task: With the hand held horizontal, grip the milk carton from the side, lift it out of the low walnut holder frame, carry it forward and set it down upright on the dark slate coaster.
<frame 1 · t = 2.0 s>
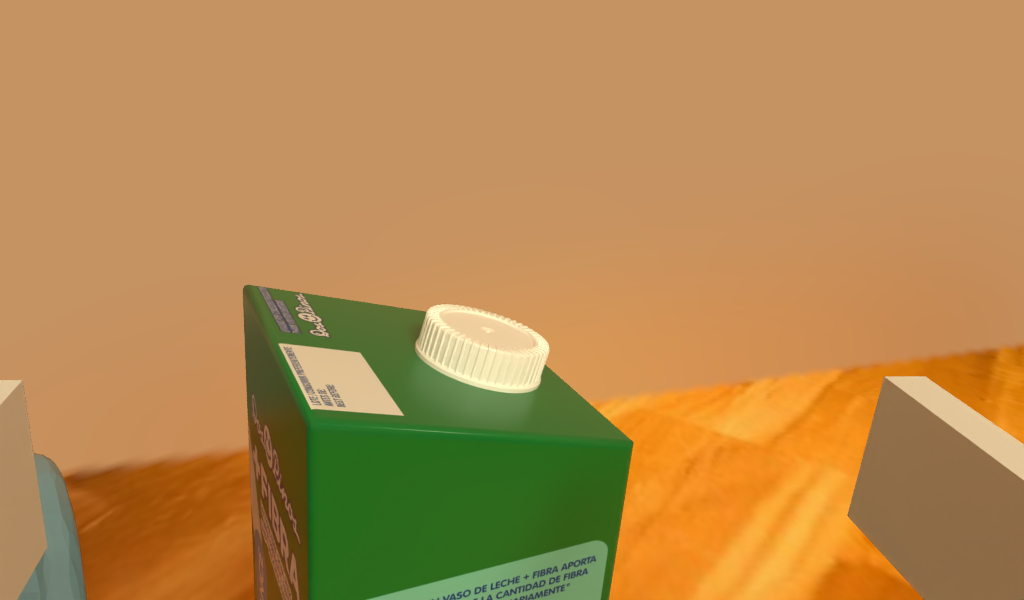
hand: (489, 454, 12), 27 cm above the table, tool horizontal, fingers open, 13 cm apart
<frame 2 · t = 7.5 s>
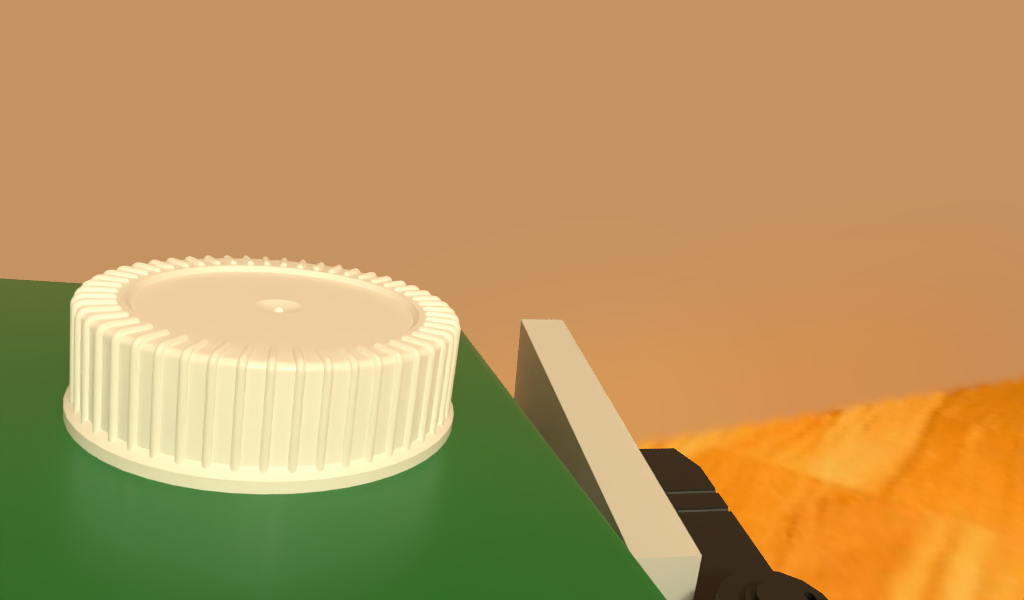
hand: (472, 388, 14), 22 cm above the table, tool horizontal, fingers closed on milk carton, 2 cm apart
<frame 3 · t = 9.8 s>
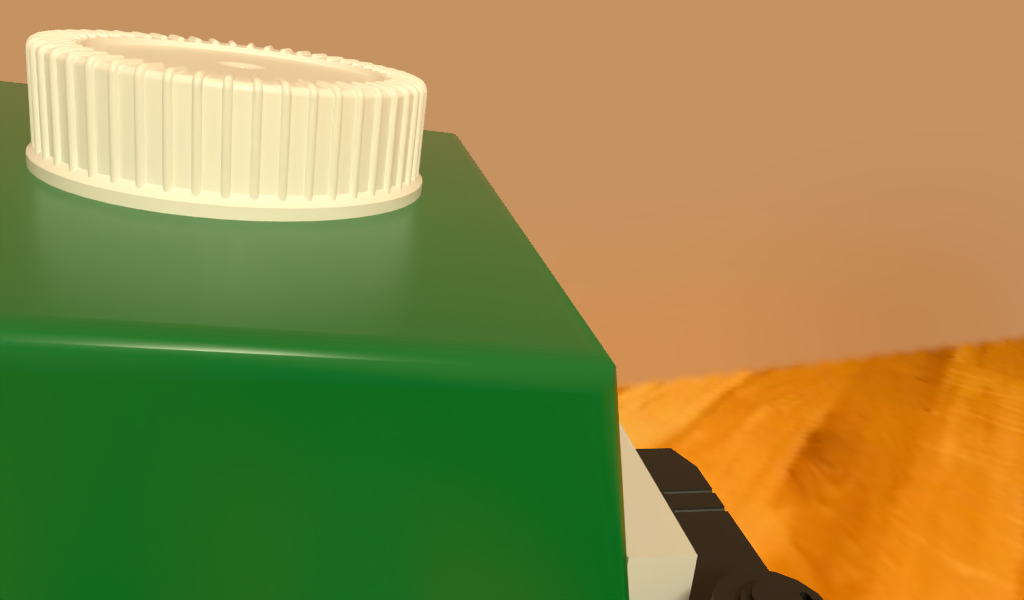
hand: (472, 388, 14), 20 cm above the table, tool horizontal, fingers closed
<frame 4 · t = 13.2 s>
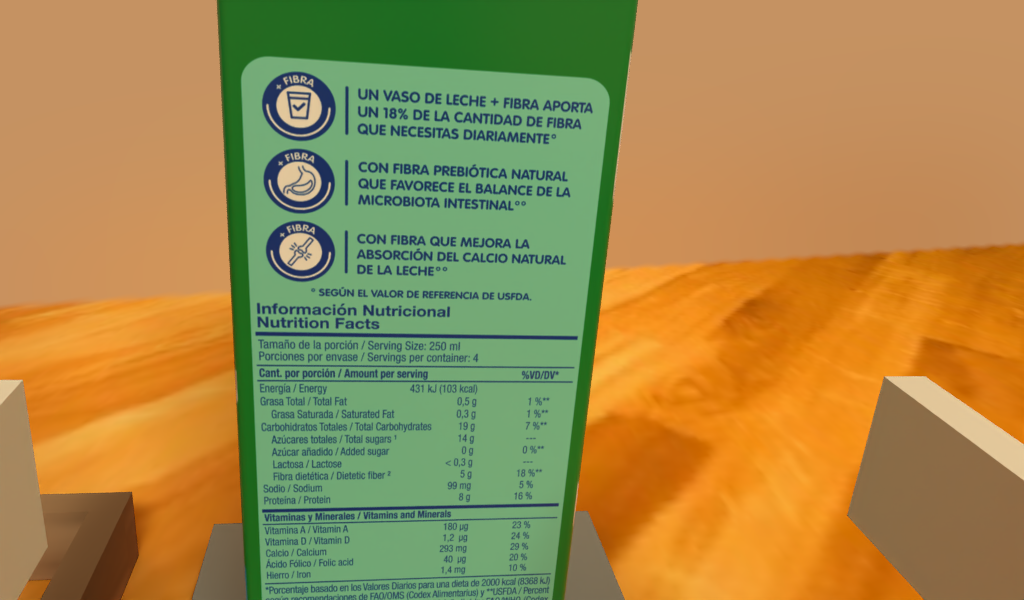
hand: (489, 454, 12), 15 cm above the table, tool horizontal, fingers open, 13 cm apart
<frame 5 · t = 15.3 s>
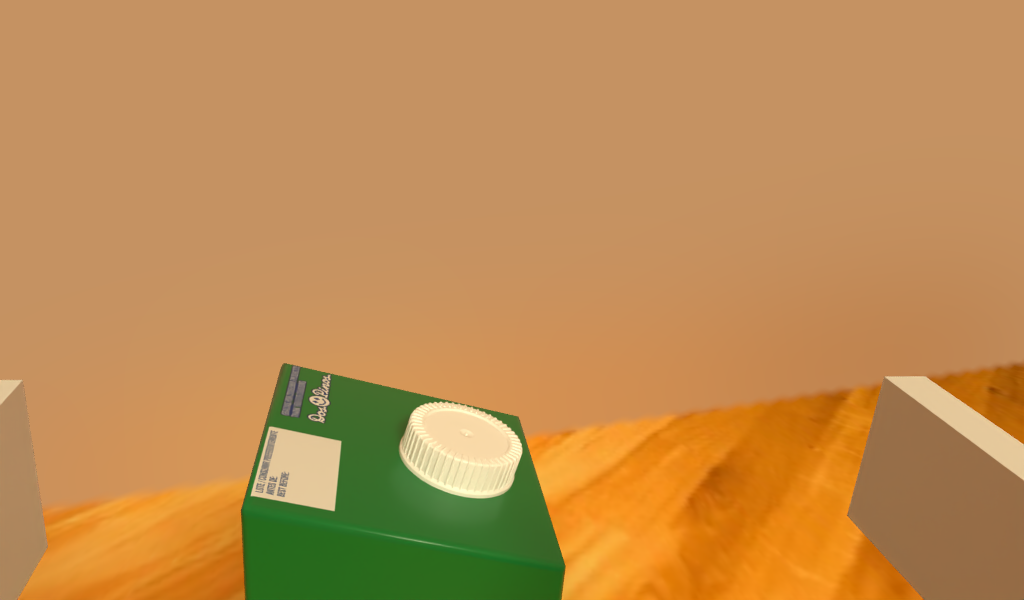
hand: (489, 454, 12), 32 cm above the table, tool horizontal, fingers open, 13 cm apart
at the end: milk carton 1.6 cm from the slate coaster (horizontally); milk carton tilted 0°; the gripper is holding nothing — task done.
